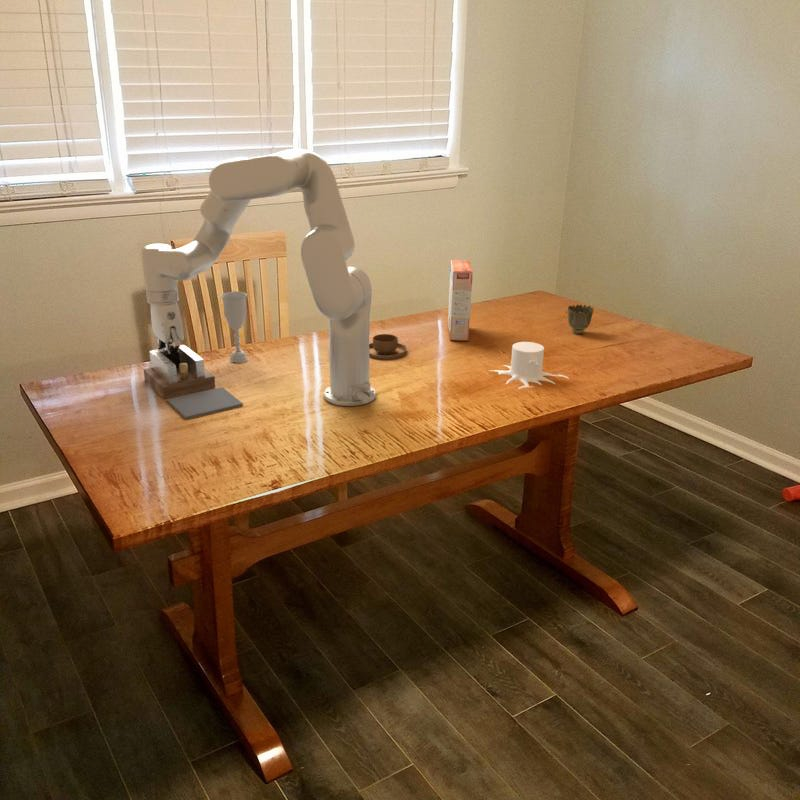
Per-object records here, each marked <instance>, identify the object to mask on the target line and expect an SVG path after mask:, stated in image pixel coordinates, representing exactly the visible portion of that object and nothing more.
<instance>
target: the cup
mask: <svg viewBox="0 0 800 800" xmlns="http://www.w3.org/2000/svg"><path fill="white" fill-rule="evenodd" d="M593 312H594V307H593V306H590V305H588V306H587V305H586V304H584V305H582V304H578V303H577V304H576V305H575V304H573V305H568V306H567V313H568V314H567V315H568V316H567V319H568V325H569V326H570V328H572V329H571V332H572V333H573V334H575V335H583V334H584V333H585V331H586V330H585V329H587V328H588V327H589V326H590V324H591V321H592V317H593Z"/></svg>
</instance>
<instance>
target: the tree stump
mask: <svg viewBox="0 0 800 800" xmlns="http://www.w3.org/2000/svg"><path fill="white" fill-rule="evenodd" d="M544 351H545V347H544V345H541V344H540V343H537V342H532V341H519V342H518V341H517V342H516V343H513V344H512V347H511V360H510V365H505V364H502V365H501V366H504V367H507V368H508V369H509V370H502V369H501V370H500V369H494V370H493V369H490V370H489V372H495V373H498V375H507V376H511V378H509V379H508V380H507V381H506V383H505V385H508V384H509V383H511V382H514V381H520V382H521V383H522V384H524V385H521V386H519V387H518V388H517V389H518V390H521V389H523V388H524V389H525V388H527V389H528V388H536V387H535V386H530V384H529V383H535V384H538V385H540V386H542V385H543V384H542V383H541V382H540V381H544V382H547V383H552V384H554V385H556V383H555V382H554V381H552V380H550V379H548V378H547V377H545V376H551V377H561V378H566V379H568V380H569V379H570V378H569V377H568V376H567V375H562V374H560V373H558V374H553V373H548V372H545V371H543V365H544V355H545V354H544Z"/></svg>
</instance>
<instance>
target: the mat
mask: <svg viewBox="0 0 800 800" xmlns="http://www.w3.org/2000/svg"><path fill="white" fill-rule="evenodd" d="M166 402H167V403H168V404H169V405H170V406H171V407H172V408H174V409H173V410H175V411H176V412H177V413H178V414H179V415H180V416H182V417H183V419H185V420H189V419H192V418H197V417H201V416H202V417H203V416H205V415H209V414H213V413H218V412H223V411H227V410H230V409H235V408H239V406H240V407H243V406H244V403H243V402H241V401H240V400H239V398H237V397H235V396H234V395H233V394H232V393H231V392H230V391H228V390H227V389H226V388H224V387H223V386H222V387H221V386H220V387H215V388H211V389H206V390H202V391H197V392H193V393H188V394H184V395H179V396H175V397H170V398H166ZM242 405H243V406H242ZM222 410H223V411H222Z"/></svg>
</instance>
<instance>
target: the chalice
mask: <svg viewBox="0 0 800 800" xmlns="http://www.w3.org/2000/svg"><path fill="white" fill-rule="evenodd" d="M247 296H248V293H247V292H244V291H227V292H224V293H222V294H220V298H221V300H222V302H223V303H222V304H223V305H222V306H223V314H224V318H225V319H226V322H227V323H228V325H229V327H230V328H231V329H232V330H234V336H233V337H234V339H235V341H234V342H233V344H235V349H234V350H233V351H232V352H231V353H230V354H231V355H230V356H229V359H228V360H230V361H231V362H230V361H229V362H230V363H233V362H236V363H235V364H242V363H246V362H248V361H249V358H248V357H247V354H246V352H245V351H244V350H242V349H241V348H240V346H241V345H240V344H241V343H242V342H241V341H240V337H241V335H240V333H239V330H240V329H242V327H243V325H244V322H245V320H246V316H247V313H248V312H247ZM245 361H246V362H245ZM241 362H242V363H241Z"/></svg>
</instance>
